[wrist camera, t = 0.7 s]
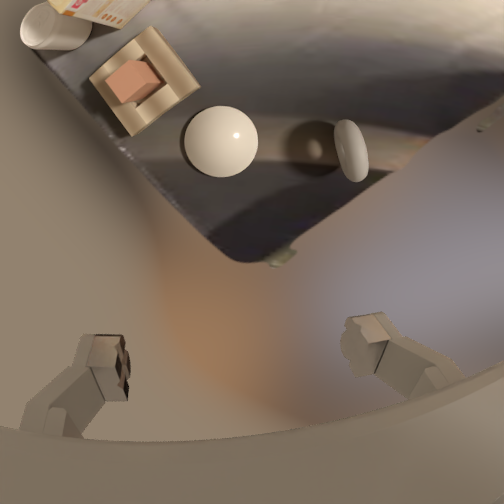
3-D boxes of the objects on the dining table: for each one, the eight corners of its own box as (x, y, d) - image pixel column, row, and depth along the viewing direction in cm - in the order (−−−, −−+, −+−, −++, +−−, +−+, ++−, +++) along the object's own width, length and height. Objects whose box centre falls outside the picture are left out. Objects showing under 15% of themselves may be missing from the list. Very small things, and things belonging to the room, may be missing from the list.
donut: (326, 118, 49) (341, 126, 40) (346, 114, 48) (365, 121, 40) (338, 173, 54) (354, 193, 45) (357, 169, 53) (376, 188, 45)
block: (149, 62, 43) (128, 59, 36) (164, 82, 45) (146, 83, 37) (128, 79, 45) (105, 80, 37) (142, 99, 46) (121, 103, 39)
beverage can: (49, 38, 40) (10, 37, 30) (74, 3, 37) (37, -8, 27) (76, 57, 43) (37, 57, 32) (102, 21, 40) (67, 11, 29)
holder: (157, 29, 41) (150, 25, 38) (201, 86, 47) (197, 87, 43) (99, 77, 45) (88, 78, 41) (139, 132, 50) (131, 136, 47)
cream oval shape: (231, 91, 47) (231, 92, 46) (271, 151, 52) (272, 152, 51) (171, 132, 50) (170, 133, 50) (212, 188, 55) (211, 190, 55)
